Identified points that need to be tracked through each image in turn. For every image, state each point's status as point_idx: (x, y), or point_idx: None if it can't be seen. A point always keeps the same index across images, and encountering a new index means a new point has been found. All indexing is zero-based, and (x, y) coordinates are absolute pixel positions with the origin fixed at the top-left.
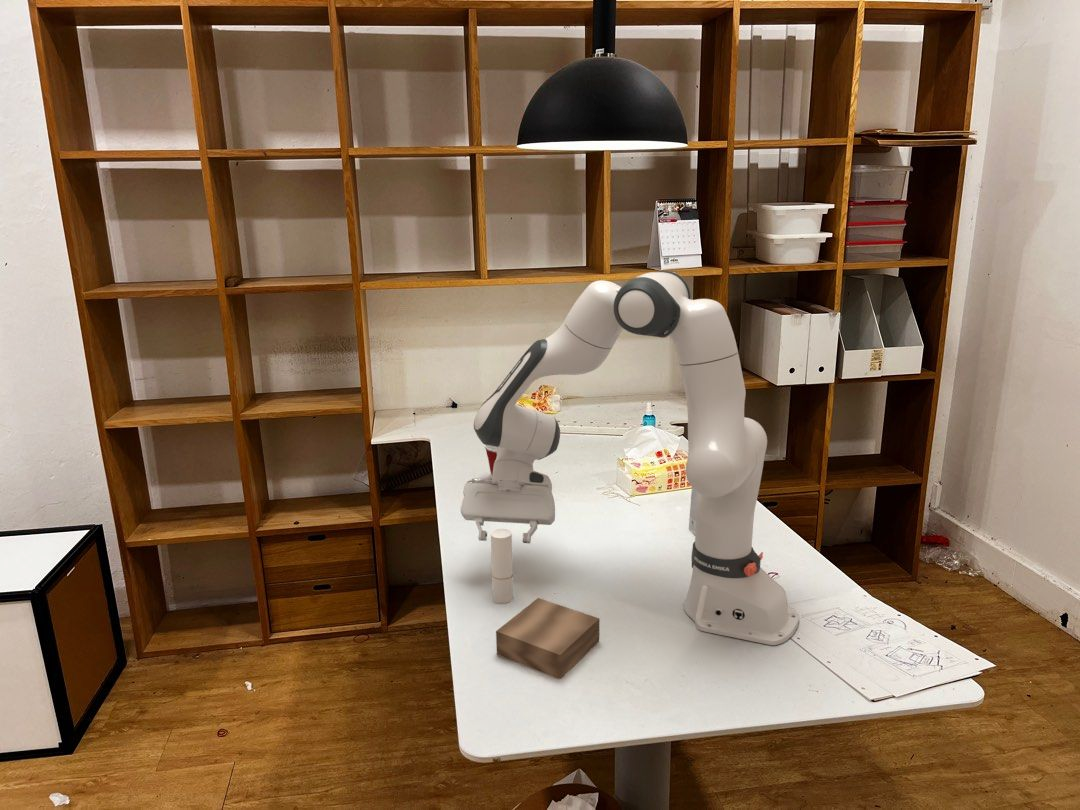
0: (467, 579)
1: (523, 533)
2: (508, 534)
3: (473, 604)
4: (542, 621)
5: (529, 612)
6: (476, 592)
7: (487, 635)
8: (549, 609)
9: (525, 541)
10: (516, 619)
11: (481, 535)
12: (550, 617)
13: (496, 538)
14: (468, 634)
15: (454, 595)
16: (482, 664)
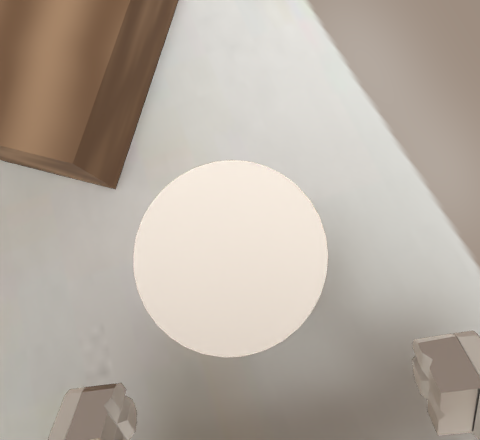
0: None
1: (100, 433)
2: (154, 251)
3: (359, 210)
4: (26, 31)
5: (80, 64)
6: (388, 293)
7: (238, 63)
8: (18, 104)
9: (100, 385)
10: (110, 9)
11: (457, 348)
12: (6, 61)
13: (238, 164)
14: (296, 48)
15: (462, 247)
16: None
